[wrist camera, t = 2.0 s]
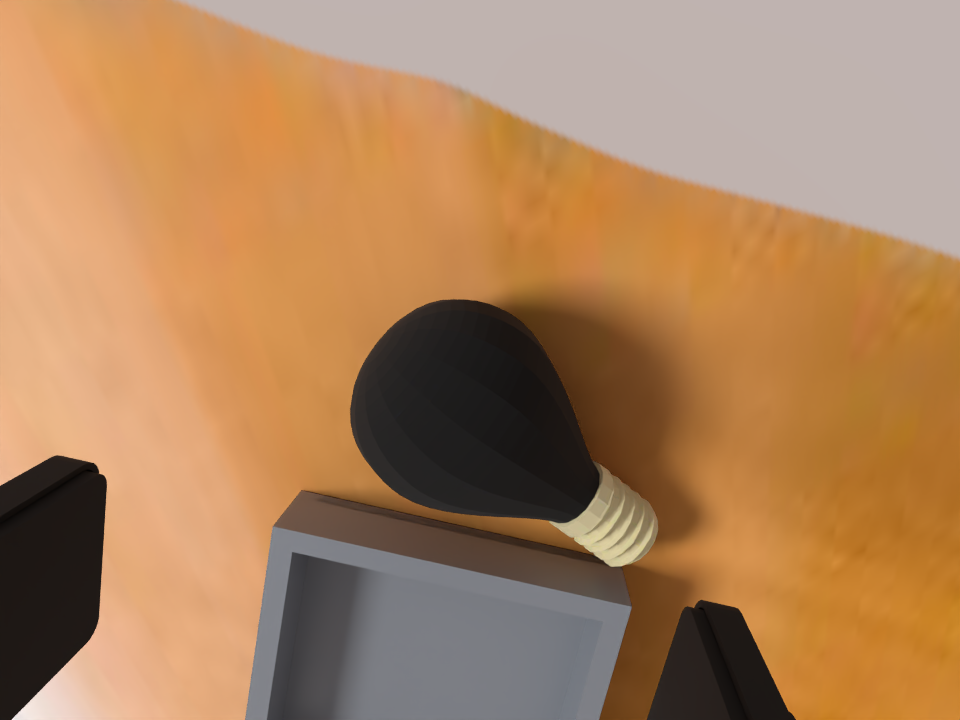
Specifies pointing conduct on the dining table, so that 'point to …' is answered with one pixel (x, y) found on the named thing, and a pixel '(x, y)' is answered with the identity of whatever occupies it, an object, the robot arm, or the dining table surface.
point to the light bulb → (488, 429)
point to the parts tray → (429, 621)
